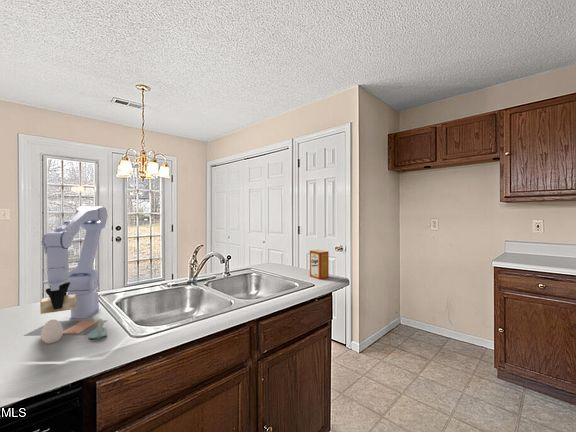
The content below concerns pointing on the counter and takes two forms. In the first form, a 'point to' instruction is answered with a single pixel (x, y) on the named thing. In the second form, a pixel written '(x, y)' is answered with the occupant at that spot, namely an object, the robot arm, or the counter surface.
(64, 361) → the counter surface
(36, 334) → the rubber mat
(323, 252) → the baking soda box
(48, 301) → the tan wooden block
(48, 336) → the egg
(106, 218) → the robot arm
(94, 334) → the pacifier
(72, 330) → the terracotta strip
